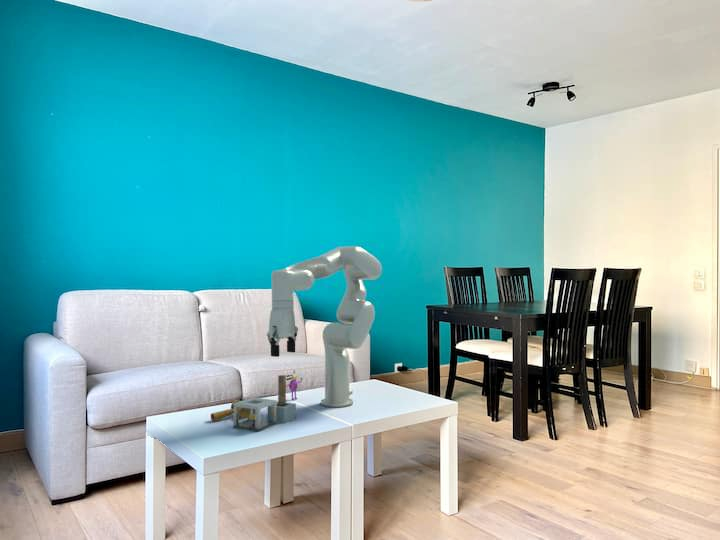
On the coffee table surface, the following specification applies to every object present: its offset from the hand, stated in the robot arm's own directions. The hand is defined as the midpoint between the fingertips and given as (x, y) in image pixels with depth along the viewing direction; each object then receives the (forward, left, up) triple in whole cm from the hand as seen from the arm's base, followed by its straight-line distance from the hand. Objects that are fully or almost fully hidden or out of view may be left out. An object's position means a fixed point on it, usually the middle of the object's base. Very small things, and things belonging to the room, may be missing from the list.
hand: (283, 354), depth 186 cm
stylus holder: (+1, 0, -23) cm, 23 cm away
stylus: (0, 0, -23) cm, 23 cm away
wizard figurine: (-26, -13, -23) cm, 37 cm away
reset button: (+12, -3, -21) cm, 24 cm away
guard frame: (+12, -3, -23) cm, 25 cm away
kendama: (+6, -16, -23) cm, 29 cm away
